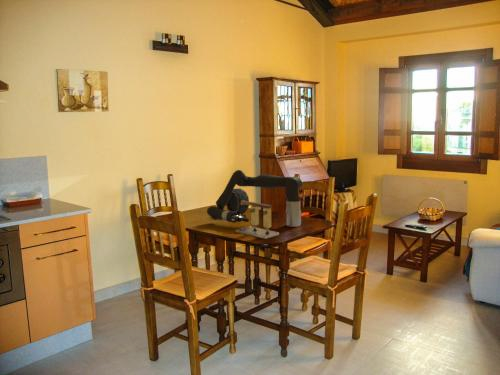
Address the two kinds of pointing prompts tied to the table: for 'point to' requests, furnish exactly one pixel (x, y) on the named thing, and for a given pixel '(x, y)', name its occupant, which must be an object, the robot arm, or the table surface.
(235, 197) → the dark treaded wheel
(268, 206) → the beam
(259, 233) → the plate
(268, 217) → the fixed leg
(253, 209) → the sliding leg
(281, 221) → the table surface
